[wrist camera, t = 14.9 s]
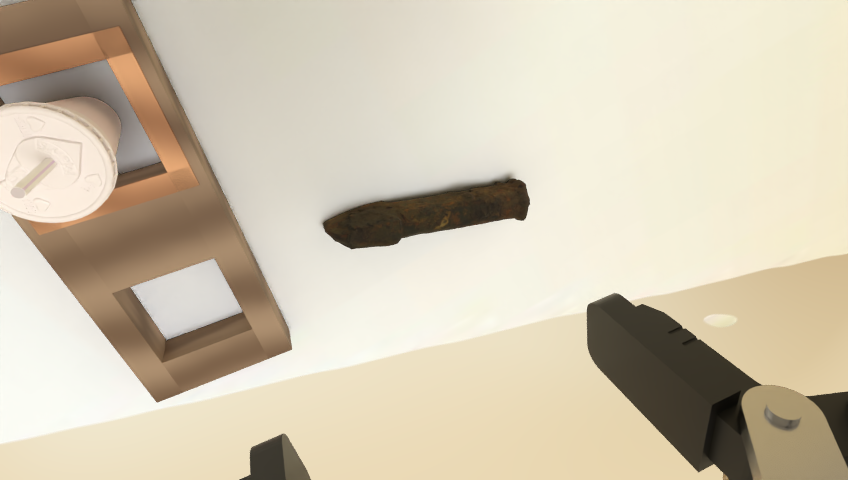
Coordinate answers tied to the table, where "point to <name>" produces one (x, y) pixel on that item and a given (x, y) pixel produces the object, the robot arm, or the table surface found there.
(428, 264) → the table surface
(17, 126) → the smoothie
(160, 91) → the wooden tray
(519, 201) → the hand tool
